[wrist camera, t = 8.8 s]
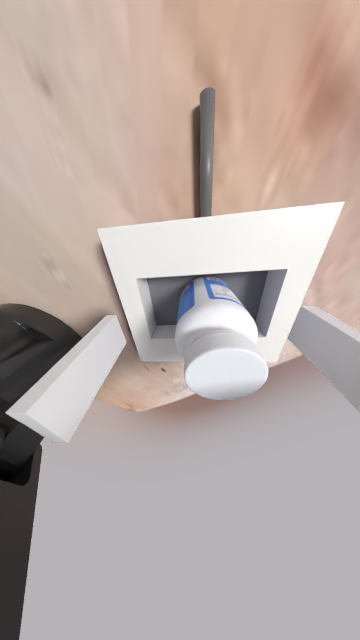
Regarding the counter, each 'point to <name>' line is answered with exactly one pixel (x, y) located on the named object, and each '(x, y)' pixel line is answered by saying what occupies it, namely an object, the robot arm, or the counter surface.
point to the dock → (217, 261)
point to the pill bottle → (218, 342)
